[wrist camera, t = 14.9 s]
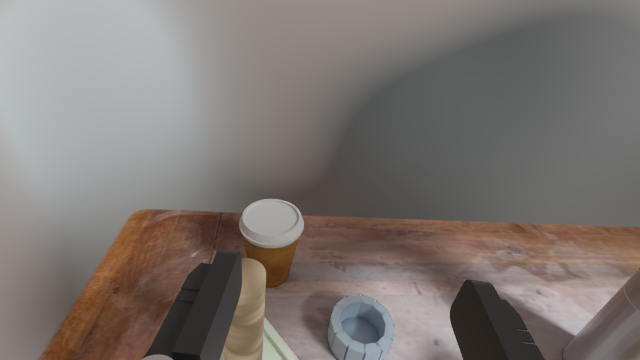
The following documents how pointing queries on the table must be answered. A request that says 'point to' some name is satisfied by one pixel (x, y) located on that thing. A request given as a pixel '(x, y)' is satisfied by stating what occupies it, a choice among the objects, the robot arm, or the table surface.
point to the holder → (360, 329)
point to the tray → (273, 345)
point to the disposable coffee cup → (272, 236)
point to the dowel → (248, 315)
